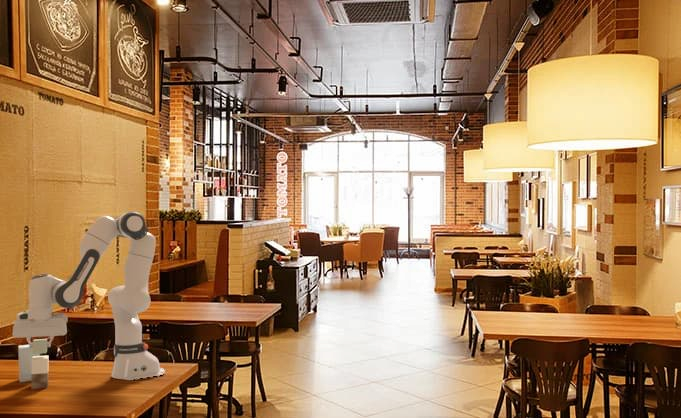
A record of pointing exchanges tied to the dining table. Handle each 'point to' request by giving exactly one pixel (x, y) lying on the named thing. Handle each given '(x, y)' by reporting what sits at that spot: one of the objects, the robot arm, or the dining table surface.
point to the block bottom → (39, 381)
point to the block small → (40, 346)
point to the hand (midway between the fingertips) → (40, 347)
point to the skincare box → (25, 362)
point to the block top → (40, 364)
